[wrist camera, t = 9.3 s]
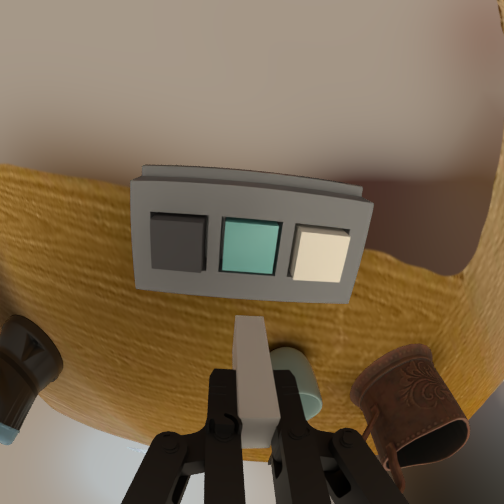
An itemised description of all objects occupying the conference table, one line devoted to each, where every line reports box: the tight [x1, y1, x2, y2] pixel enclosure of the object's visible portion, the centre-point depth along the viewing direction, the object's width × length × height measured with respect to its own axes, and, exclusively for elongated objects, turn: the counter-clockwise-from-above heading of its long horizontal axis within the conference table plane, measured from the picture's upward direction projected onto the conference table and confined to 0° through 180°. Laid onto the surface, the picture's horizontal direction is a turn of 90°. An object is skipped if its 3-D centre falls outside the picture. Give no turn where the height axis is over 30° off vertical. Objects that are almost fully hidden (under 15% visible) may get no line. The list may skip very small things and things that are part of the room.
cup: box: [270, 347, 322, 420], centre depth 34 cm, size 8×8×10 cm
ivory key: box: [288, 223, 351, 282], centre depth 27 cm, size 5×5×3 cm
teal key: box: [222, 217, 279, 274], centre depth 28 cm, size 5×5×3 cm
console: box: [130, 165, 374, 304], centre depth 29 cm, size 24×14×4 cm, turn 84°
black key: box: [150, 212, 207, 273], centre depth 26 cm, size 5×5×3 cm
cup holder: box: [350, 344, 470, 493], centre depth 31 cm, size 18×24×25 cm
